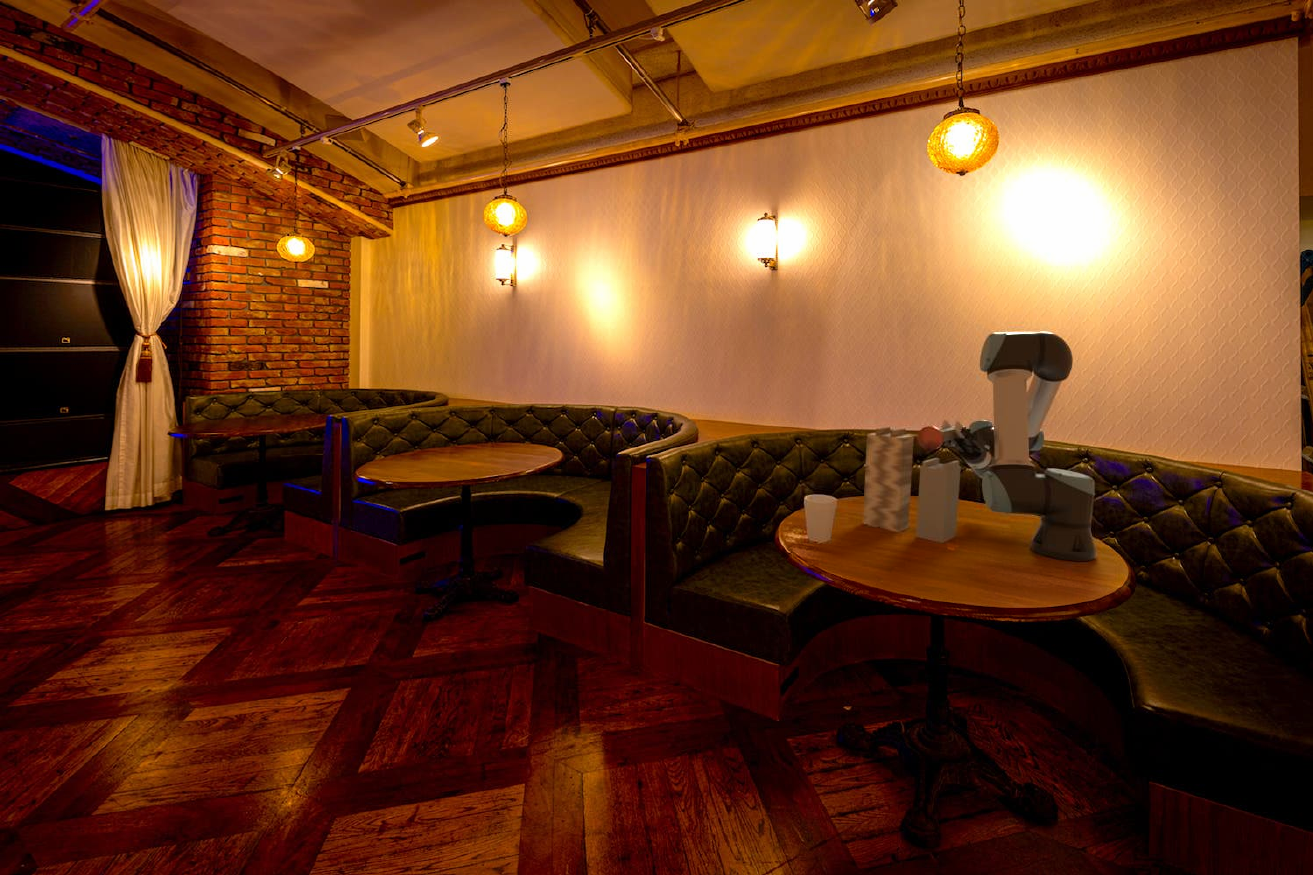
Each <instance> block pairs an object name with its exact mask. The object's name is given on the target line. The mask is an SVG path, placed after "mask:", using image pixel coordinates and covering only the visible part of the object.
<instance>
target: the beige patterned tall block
mask: <svg viewBox="0 0 1313 875" xmlns="http://www.w3.org/2000/svg"><path fill="white" fill-rule="evenodd" d="M914 437H915V436H914V435H910V434H909V435H908V434H906V428H896V429H892V430H891V426H890V427H889V426H885V427H880V428H875V432H873V433H871V432H870V433H867V434H866V451H865V470H864V472H865V474H864V491H863V492H864V493H863V494H864V496H863V515H862V516H863V517H862V524H863V523H864V524H863V525H865V524H868V525H867V526H870V525H871V526H870V527H874V528H878V527H880V528H879V529H882V528H883V529H882V530H886V529H887V531H891V532H895V533H899V532H901V531H904V530H906V529H908V528H909V520H910V508H911V488H912V473H913V451H914V439H915V438H914Z"/></svg>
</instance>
